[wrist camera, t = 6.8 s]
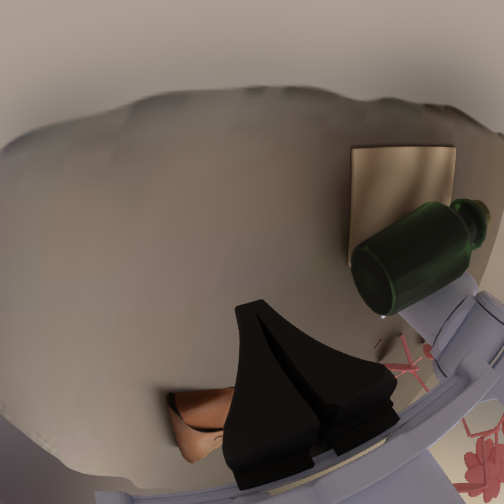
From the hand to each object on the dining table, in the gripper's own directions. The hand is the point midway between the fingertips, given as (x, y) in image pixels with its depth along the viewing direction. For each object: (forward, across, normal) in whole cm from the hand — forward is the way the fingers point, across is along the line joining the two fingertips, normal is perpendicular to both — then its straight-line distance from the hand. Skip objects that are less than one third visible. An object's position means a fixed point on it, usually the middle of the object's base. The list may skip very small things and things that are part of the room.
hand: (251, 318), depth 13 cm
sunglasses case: (+9, +7, +26) cm, 29 cm away
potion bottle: (+4, -11, +4) cm, 12 cm away
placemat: (+8, -20, 0) cm, 21 cm away
